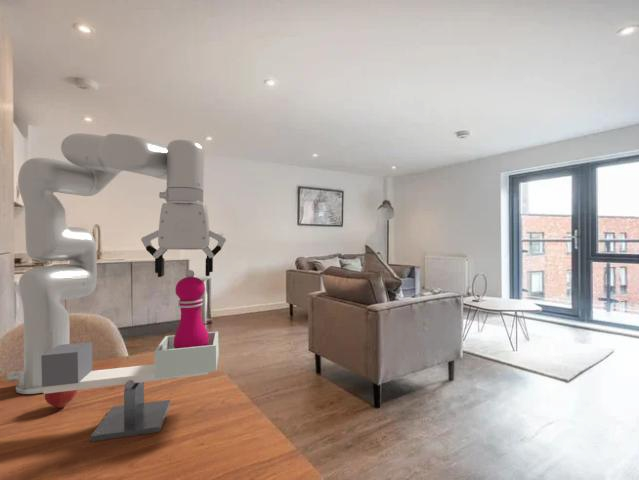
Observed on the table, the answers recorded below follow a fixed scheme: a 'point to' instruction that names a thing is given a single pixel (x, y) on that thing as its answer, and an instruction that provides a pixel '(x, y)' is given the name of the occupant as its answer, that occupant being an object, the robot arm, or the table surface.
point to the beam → (76, 367)
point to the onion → (60, 398)
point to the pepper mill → (190, 313)
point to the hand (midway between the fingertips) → (184, 276)
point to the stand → (132, 416)
